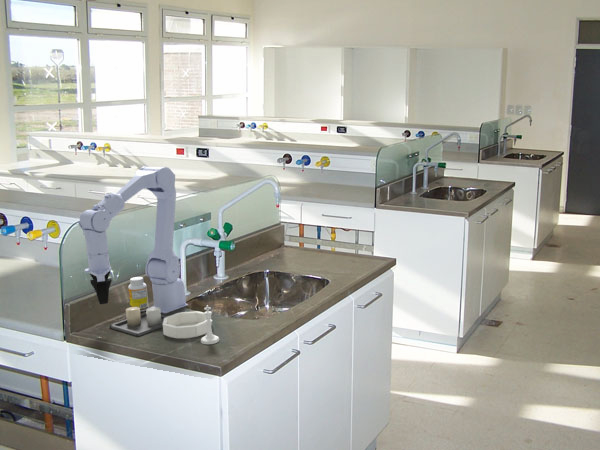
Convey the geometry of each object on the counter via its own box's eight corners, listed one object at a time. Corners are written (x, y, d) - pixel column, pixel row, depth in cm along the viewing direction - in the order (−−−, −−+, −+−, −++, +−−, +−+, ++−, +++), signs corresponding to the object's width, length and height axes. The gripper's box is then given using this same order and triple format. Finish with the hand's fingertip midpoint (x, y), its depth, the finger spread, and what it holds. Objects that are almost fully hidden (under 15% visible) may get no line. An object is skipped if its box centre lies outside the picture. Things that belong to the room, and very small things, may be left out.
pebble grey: (155, 321, 208) (154, 306, 208) (164, 323, 206) (163, 308, 205) (144, 325, 205) (143, 310, 205) (153, 327, 203) (152, 312, 202)
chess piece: (201, 338, 194) (198, 303, 192) (219, 337, 194) (216, 302, 192) (200, 345, 189) (197, 309, 187) (218, 343, 189) (216, 307, 187)
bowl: (189, 320, 209) (188, 308, 208) (220, 328, 201) (220, 316, 200) (154, 333, 199) (153, 321, 198) (186, 342, 191) (185, 330, 190)
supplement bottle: (133, 307, 223) (130, 276, 221) (151, 307, 223) (148, 275, 221) (128, 313, 218) (124, 281, 216) (145, 313, 217) (142, 280, 215)
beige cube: (135, 320, 210) (134, 306, 209) (144, 323, 207) (142, 308, 206) (124, 324, 207) (122, 309, 206) (133, 327, 204) (131, 312, 203)
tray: (148, 315, 215) (148, 311, 215) (177, 322, 207) (176, 318, 207) (109, 329, 205) (109, 325, 204) (138, 337, 196) (138, 333, 196)
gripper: (82, 248, 203) (88, 294, 206) (83, 260, 190) (89, 309, 192) (108, 245, 205) (113, 290, 208) (110, 257, 192) (115, 305, 194)
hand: (103, 299), depth 200 cm, fingers open, 7 cm apart
